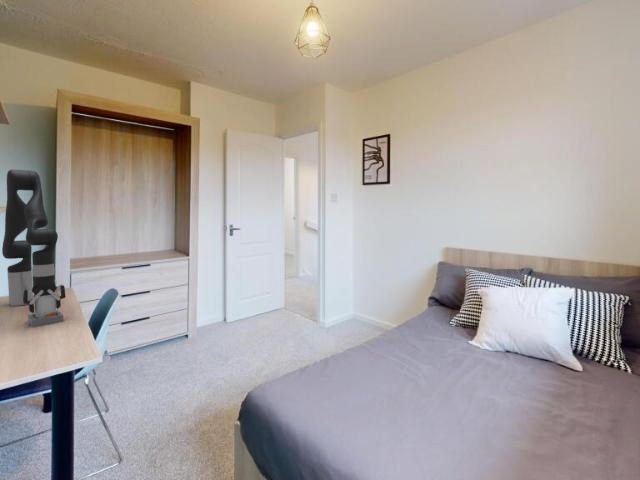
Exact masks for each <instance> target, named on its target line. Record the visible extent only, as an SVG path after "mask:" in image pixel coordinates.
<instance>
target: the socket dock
mask: <svg viewBox="0 0 640 480" xmlns="http://www.w3.org/2000/svg"><path fill="white" fill-rule="evenodd" d="M61 322H62V323H63V322H64V314H63V313H62V312H61V311H59V310H58V309H56V315H55V316H49V317H44V318H38V319H35V313H30V314H27V323H28V324H30V327H32V328H36V327H41V326H46V325H51V324H57V323H61Z"/></svg>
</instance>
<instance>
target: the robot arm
mask: <svg viewBox="0 0 640 480" xmlns="http://www.w3.org/2000/svg"><path fill="white" fill-rule="evenodd" d="M18 191H32V196H31V197H30V199H29V200H28V201H27V203H25V202H24V201H23V199H22V198H21V197H20V195H19V194H18ZM43 197H44V196H43V190H42V181H41V178H40V175H39V173H38V172H37V171H35V170H26V169H9V170H8V171H7V174H6V207H5V215H4V216H5V217H4V235H3V236H4V237H3V240H2V241H3V242H2V251H1V252H2V253H1V254H2V256H3V257H4V258H5V259H7V260H8V259H9V260H12V259H13V260H14V259H21V260H20V261H19V262H17V263H14V264H12V265H8V267H7V283H8V304H9V305H8V306H10V307H11V306H12V307H17V306H25V305H28V310H29V312H30V313H31V314H35V301H36V300H37V299H38V298H39V296H46V295H52V296H53V297H55V298H56V310H58V309H60V308H61V307H62V306H61V303H62V302H61V301H62V299H66V297H67V296H66V288H65V285H63V284H60V285H58V286H56V285H57V284H56V285H55V280H56V271H55V269H56V268H55V263H54V253H55V249H56V245H57V243H58V238H59V237H58V236H59V235H58V232H57V231H56V230H55V229H53V228H45V227H47V226H48V224H49V221H48V217H47V213H46V210H45V206H44V198H43ZM24 231H26V234H25V239H24V240H23V239H22V240H16V238H17V237H18V236H19V235H20V234H22V233H23V232H24ZM32 246H45V247H44V248H42V249H39V250H35V251H32V250H33V249H32ZM57 288H58V289H59V293H60V296H59V297H58V296H57V295H56V294H55V293H54V292H55V290H56V289H57Z"/></svg>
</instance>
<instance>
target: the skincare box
mask: <svg viewBox="0 0 640 480" xmlns="http://www.w3.org/2000/svg"><path fill="white" fill-rule="evenodd" d="M56 310H57V308H56V298H55V297H53V296H52V295H46V296H39V298H38V299H37V300H36V301H35V302H34V314H35V319H38V318H44V317H49V316H55V315H56Z"/></svg>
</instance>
